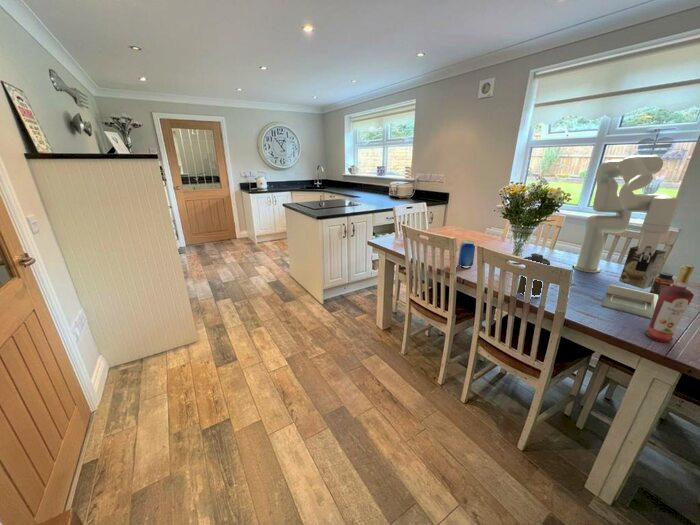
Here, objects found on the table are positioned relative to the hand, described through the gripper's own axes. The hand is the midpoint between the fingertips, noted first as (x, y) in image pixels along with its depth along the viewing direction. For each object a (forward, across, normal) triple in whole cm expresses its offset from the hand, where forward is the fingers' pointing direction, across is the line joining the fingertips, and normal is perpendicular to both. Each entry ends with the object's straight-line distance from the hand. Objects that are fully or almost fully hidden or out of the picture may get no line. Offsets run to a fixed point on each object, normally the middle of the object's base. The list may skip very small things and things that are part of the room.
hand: (640, 267), depth 117 cm
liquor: (+17, +27, +9) cm, 34 cm away
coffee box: (+8, 0, 0) cm, 8 cm away
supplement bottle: (+17, -18, +9) cm, 26 cm away
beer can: (+17, +4, -73) cm, 75 cm away
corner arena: (+17, +2, 0) cm, 17 cm away
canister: (+17, +18, -34) cm, 42 cm away
